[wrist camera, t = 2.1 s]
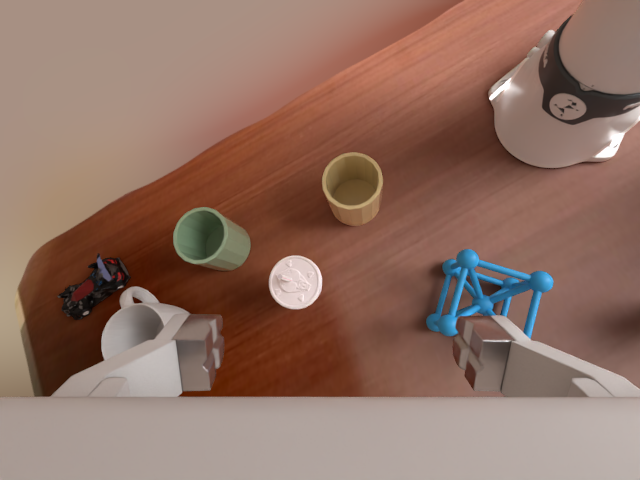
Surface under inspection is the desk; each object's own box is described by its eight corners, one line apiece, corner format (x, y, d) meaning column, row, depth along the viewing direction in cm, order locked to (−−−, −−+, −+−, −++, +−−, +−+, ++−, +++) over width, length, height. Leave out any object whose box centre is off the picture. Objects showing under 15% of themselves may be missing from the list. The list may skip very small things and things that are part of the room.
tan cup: (351, 168, 51) (347, 141, 43) (391, 197, 49) (395, 174, 41) (320, 205, 50) (310, 185, 42) (358, 236, 49) (356, 221, 40)
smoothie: (297, 259, 49) (269, 240, 36) (337, 273, 48) (323, 260, 34) (281, 299, 48) (246, 296, 35) (321, 316, 47) (301, 318, 33)
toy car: (135, 282, 53) (116, 280, 49) (75, 328, 52) (51, 330, 49) (118, 252, 54) (98, 248, 50) (60, 297, 54) (36, 296, 50)
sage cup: (226, 213, 53) (199, 196, 44) (260, 242, 51) (238, 230, 42) (195, 250, 52) (162, 239, 44) (228, 281, 50) (200, 275, 42)
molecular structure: (499, 355, 43) (537, 368, 33) (422, 327, 45) (436, 332, 35) (518, 281, 44) (560, 273, 34) (443, 258, 46) (462, 244, 36)
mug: (218, 341, 49) (180, 349, 39) (170, 378, 49) (120, 395, 39) (176, 273, 52) (132, 264, 42) (131, 308, 52) (76, 307, 42)
